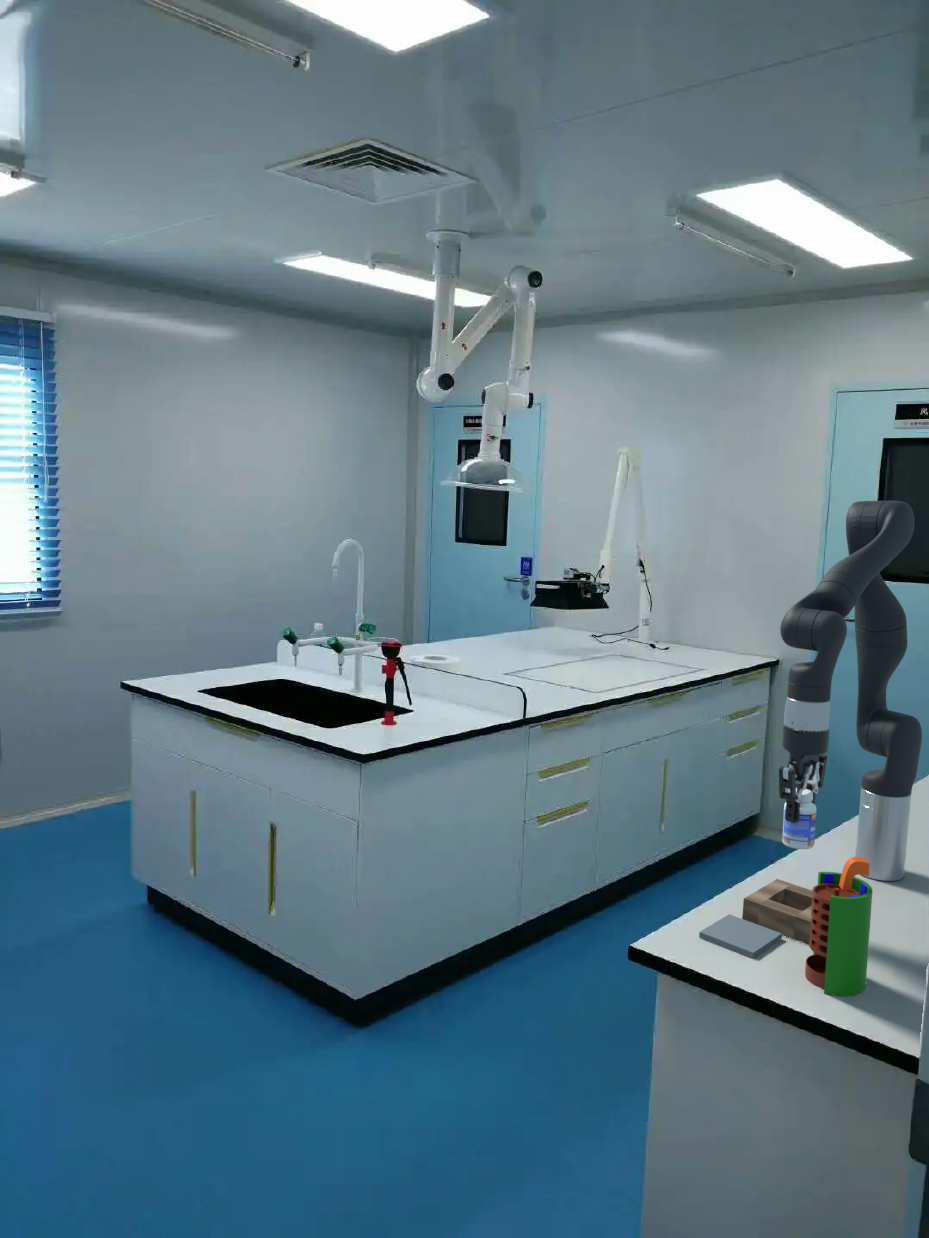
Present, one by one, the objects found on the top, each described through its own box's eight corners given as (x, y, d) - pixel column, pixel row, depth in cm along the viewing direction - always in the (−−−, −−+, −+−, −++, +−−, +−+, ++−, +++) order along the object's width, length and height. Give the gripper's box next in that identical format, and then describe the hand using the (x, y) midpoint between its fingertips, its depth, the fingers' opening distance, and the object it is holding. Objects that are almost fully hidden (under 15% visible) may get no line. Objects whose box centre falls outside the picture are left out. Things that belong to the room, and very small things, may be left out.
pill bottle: (816, 851, 167) (820, 797, 165) (783, 848, 168) (787, 794, 166) (811, 840, 172) (815, 787, 171) (780, 837, 173) (783, 785, 172)
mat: (728, 919, 172) (729, 914, 172) (781, 938, 165) (781, 933, 165) (699, 937, 165) (699, 931, 165) (752, 958, 158) (753, 952, 158)
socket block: (775, 899, 181) (777, 878, 180) (841, 921, 172) (843, 900, 171) (742, 919, 172) (743, 898, 171) (810, 944, 163) (811, 922, 163)
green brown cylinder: (793, 963, 157) (802, 845, 154) (846, 962, 157) (856, 845, 154) (821, 996, 147) (831, 871, 144) (877, 995, 147) (889, 870, 144)
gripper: (804, 713, 174) (797, 802, 177) (766, 726, 164) (760, 821, 167) (845, 720, 169) (838, 813, 172) (808, 735, 159) (801, 833, 161)
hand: (799, 816), depth 169 cm, fingers closed on pill bottle, 5 cm apart
